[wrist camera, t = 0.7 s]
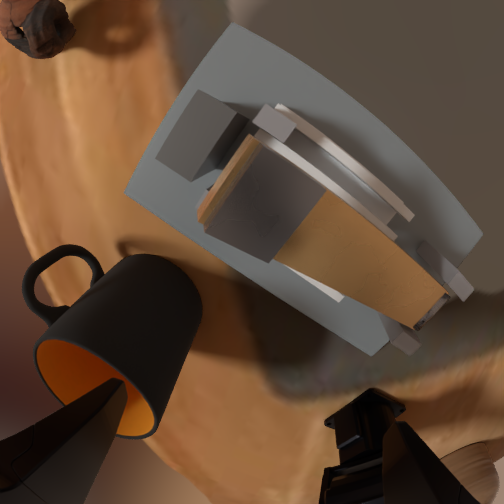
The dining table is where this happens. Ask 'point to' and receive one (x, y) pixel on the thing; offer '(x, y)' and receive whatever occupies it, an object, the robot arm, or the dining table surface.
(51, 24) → the vr controller
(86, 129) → the dining table surface
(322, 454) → the dining table surface
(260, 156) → the strap
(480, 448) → the lamp
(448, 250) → the board
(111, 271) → the mug
